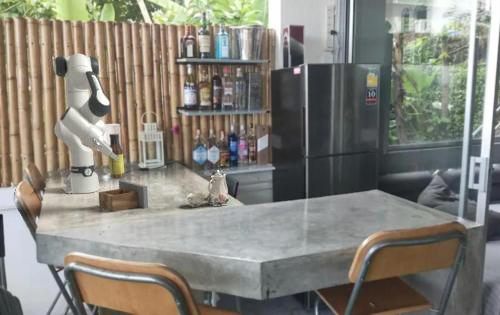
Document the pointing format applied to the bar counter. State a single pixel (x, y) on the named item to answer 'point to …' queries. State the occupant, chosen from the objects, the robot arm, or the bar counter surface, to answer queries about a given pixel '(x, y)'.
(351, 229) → the bar counter surface
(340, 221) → the bar counter surface
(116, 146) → the sauce bottle
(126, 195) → the wooden box
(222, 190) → the chinaware
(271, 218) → the bar counter surface
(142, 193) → the backstop wall
